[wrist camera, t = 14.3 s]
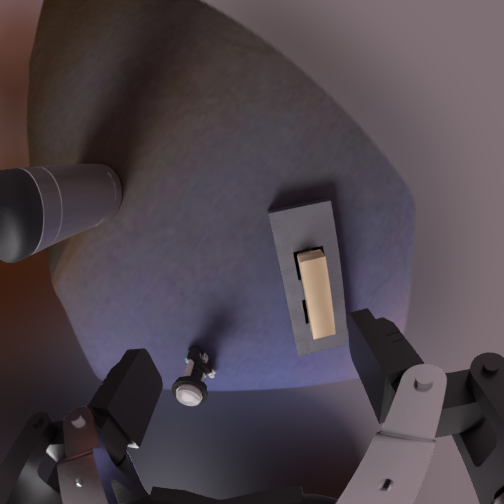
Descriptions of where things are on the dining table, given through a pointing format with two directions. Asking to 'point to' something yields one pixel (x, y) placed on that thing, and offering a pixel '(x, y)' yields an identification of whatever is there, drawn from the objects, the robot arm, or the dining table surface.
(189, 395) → the push button
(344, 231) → the dining table surface
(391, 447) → the robot arm
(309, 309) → the wooden peg block
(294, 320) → the grey block with holes
